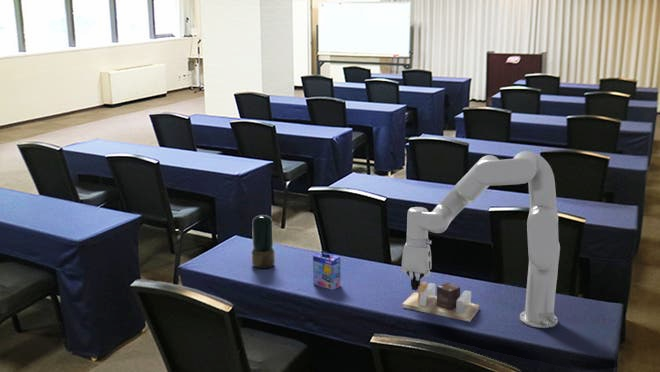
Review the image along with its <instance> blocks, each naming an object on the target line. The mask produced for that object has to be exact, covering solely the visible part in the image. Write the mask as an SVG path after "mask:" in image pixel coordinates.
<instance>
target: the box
mask: <svg viewBox="0 0 660 372" xmlns="http://www.w3.org/2000/svg"><path fill="white" fill-rule="evenodd" d="M436 296H437V305H438V306H440V307H443V308H445V309H448V310H451V309H453V308H455V307H456V303H457V299H458V298H459V297H460V296H461V286H458V285H455V284H453V283H450V282H445V283H443V284H440V285H438V286H436Z"/></svg>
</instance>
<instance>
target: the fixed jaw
mask: <svg viewBox="0 0 660 372" xmlns="http://www.w3.org/2000/svg"><path fill="white" fill-rule="evenodd" d="M471 303H472V291H471V290H463V292H461V293H460V297H459V298H458V299H457V303H456V314H461V315H463V314H464V312H465V311H466V310H467V308H468V307H469V306H470V304H471Z"/></svg>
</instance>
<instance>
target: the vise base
mask: <svg viewBox="0 0 660 372" xmlns="http://www.w3.org/2000/svg"><path fill="white" fill-rule="evenodd" d="M401 307H402V309H407V310H413V311H417V312H422V313H427V314H431V315H437V316H439V317H440V316H441V317H446V318H450V319H451V318H452V319H454V320H455V319H456V320H460V321H465V322H471V321H472V319H473V318H474V317H475V316H476V314H477V312H478V311H479V310H480V304H477V303H473V302H471V304H470V306H469V307H468V308H467V310H466V311H465V312H464V314H463V315H461V314H456V307H455V308H453V309H451V310H448V309H445V308H443V307H440V306H438V305H437V295H435V297H434V298H433V299H432V301H431V302H430V303H429V304H428V305H427V306H421V305H420V302H418V291H417V292H416V291H414V292H413V293H411V295H410V296H409V297H407V299H405V300H404V301H403V303H402V306H401Z"/></svg>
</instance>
